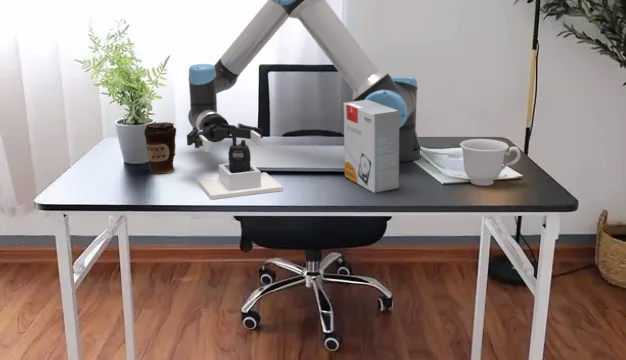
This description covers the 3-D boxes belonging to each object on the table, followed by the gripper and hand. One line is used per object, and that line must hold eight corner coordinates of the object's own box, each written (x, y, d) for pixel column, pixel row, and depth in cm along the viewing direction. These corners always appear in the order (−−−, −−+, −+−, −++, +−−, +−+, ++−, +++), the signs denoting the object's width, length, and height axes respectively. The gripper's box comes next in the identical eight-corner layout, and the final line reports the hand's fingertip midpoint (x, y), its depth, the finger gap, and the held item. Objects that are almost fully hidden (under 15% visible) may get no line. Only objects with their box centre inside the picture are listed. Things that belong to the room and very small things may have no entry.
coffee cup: (171, 176, 194) (167, 128, 190) (141, 175, 196) (137, 127, 192) (183, 167, 202) (180, 121, 199) (154, 166, 204) (151, 120, 200)
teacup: (517, 192, 179) (520, 152, 176) (455, 187, 183) (457, 148, 181) (518, 178, 190) (521, 141, 187) (460, 174, 194) (462, 137, 192)
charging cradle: (265, 175, 194) (265, 157, 193) (282, 190, 182) (282, 171, 180) (198, 183, 188) (197, 164, 186) (211, 199, 175) (210, 179, 174)
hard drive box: (343, 177, 192) (342, 102, 186) (368, 173, 196) (368, 99, 190) (373, 193, 179) (373, 113, 173) (400, 188, 182) (400, 109, 176)
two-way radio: (228, 185, 183) (225, 126, 179) (232, 180, 187) (230, 122, 183) (249, 186, 182) (248, 126, 178) (253, 180, 186) (251, 122, 182)
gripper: (256, 135, 209) (280, 153, 190) (168, 143, 200) (185, 163, 181) (255, 109, 207) (280, 124, 188) (166, 116, 198) (183, 133, 179)
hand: (233, 143), depth 184 cm, fingers open, 13 cm apart
